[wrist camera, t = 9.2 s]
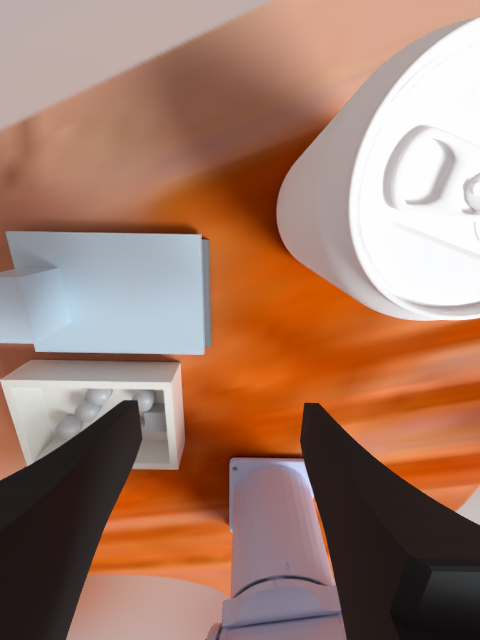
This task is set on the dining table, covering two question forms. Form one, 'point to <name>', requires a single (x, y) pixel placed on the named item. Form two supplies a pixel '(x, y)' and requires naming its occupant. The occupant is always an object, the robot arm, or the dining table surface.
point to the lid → (104, 292)
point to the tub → (96, 405)
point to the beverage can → (398, 185)
